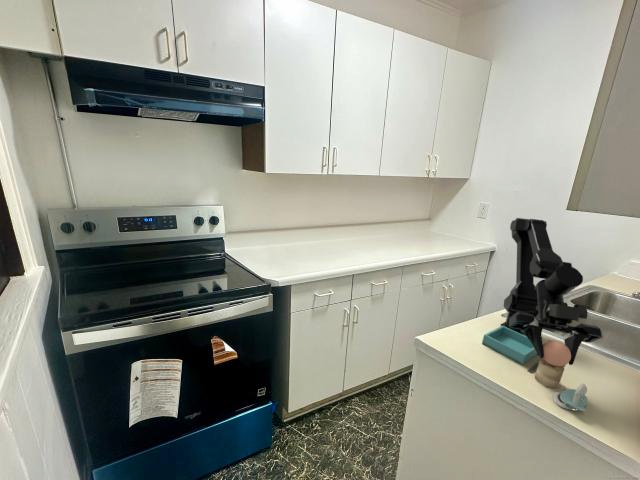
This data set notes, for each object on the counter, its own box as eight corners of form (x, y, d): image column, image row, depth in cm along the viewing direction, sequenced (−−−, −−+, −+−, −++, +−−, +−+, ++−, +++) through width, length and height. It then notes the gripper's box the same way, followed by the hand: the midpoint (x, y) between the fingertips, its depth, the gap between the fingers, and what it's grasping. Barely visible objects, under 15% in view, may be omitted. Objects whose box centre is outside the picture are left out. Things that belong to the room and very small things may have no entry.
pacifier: (549, 404, 73) (582, 420, 68) (555, 380, 71) (590, 395, 67) (556, 390, 78) (587, 404, 73) (562, 367, 76) (594, 380, 72)
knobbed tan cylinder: (539, 372, 83) (545, 352, 82) (561, 383, 79) (568, 363, 78) (531, 378, 80) (537, 358, 79) (553, 391, 77) (560, 370, 75)
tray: (500, 333, 101) (502, 325, 100) (539, 352, 92) (542, 343, 91) (481, 343, 94) (484, 334, 94) (521, 365, 86) (524, 355, 85)
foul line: (548, 355, 91) (548, 354, 91) (552, 356, 91) (552, 356, 91) (527, 370, 83) (527, 370, 83) (531, 373, 83) (531, 372, 83)
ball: (543, 353, 83) (549, 333, 81) (570, 366, 78) (578, 345, 76) (533, 360, 79) (540, 339, 78) (561, 374, 75) (568, 352, 73)
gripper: (523, 282, 80) (527, 345, 72) (611, 297, 75) (624, 365, 68) (507, 298, 89) (509, 355, 82) (584, 312, 85) (593, 373, 77)
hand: (556, 361), depth 77 cm, fingers closed on ball, 6 cm apart
